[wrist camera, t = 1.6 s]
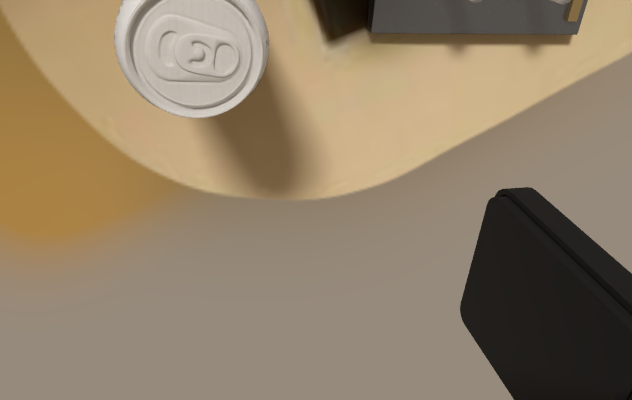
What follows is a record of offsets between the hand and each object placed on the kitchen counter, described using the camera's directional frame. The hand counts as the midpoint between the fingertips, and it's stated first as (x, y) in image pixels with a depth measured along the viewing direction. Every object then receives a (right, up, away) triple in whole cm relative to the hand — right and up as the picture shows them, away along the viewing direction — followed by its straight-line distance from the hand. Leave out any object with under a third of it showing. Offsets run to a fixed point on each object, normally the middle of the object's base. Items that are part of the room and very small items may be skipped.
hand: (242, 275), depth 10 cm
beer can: (-7, +15, +24) cm, 29 cm away
